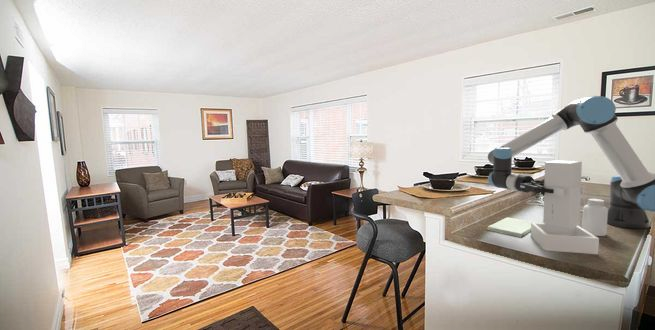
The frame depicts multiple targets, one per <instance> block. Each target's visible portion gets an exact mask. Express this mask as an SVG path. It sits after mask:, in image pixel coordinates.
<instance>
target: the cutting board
mask: <svg viewBox="0 0 655 330" xmlns="http://www.w3.org/2000/svg"><path fill="white" fill-rule="evenodd" d="M531 223H538V222H537V221H535V222H534V221H529V220H524V219H520V218H514V217H508V216H507V217H505V218H502V219H500V220H499V221H496V222H494V223H493V224H490V225H488V226H487V230H488V231H491V232H497V233H501V234H506V235H510V236H514V237H519V238H522V237H523V236H525V235H527V234H529V233H531Z"/></svg>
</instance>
